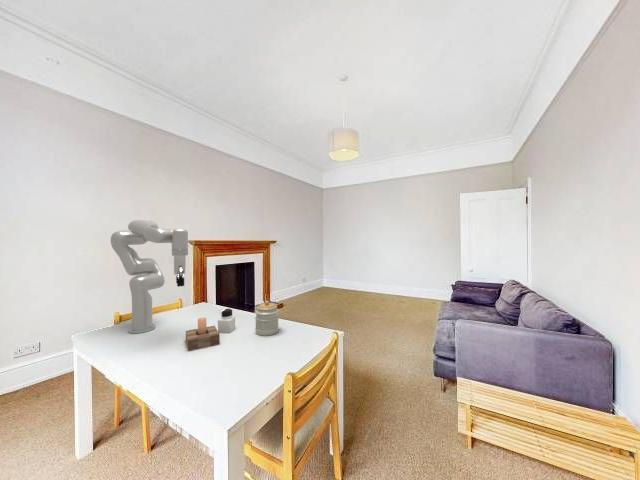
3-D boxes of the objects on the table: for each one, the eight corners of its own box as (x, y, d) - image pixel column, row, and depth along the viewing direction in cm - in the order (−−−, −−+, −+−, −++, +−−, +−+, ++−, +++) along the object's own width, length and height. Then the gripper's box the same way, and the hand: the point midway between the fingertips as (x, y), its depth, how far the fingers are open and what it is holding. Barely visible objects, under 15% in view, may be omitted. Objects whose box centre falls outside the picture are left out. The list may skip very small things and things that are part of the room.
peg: (197, 341, 127) (197, 318, 126) (205, 340, 129) (205, 317, 129) (198, 344, 123) (198, 320, 123) (207, 342, 125) (206, 319, 125)
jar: (276, 336, 134) (276, 304, 133) (252, 336, 134) (252, 303, 134) (280, 327, 147) (280, 297, 146) (258, 327, 147) (258, 297, 147)
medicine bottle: (235, 328, 145) (235, 308, 145) (229, 333, 138) (229, 311, 138) (223, 327, 146) (223, 307, 146) (217, 332, 139) (217, 311, 139)
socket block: (185, 340, 128) (185, 330, 128) (214, 334, 136) (214, 325, 136) (188, 351, 116) (187, 340, 116) (219, 344, 124) (219, 334, 124)
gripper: (171, 251, 137) (171, 282, 137) (172, 253, 122) (172, 288, 122) (186, 251, 141) (186, 281, 141) (189, 253, 126) (189, 286, 126)
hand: (180, 284), depth 132 cm, fingers open, 9 cm apart
